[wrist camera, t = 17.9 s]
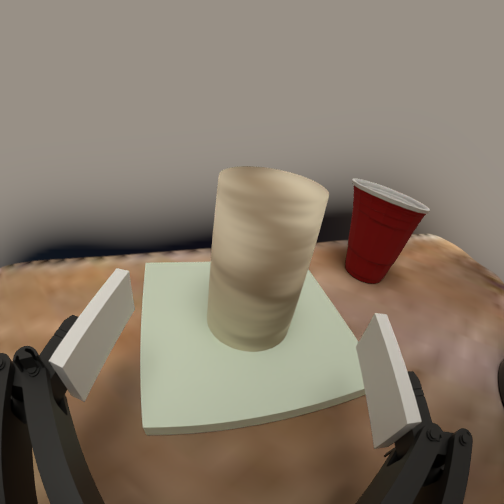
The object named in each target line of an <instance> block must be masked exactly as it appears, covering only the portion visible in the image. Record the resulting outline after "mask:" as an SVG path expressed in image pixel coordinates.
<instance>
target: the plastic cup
mask: <svg viewBox="0 0 504 504" xmlns="http://www.w3.org/2000/svg"><path fill="white" fill-rule="evenodd" d="M353 185H354V202H353V213H352V221H351V228H350V234H349V240H348V250H347V256H346V262H345V263H346V266H345V268H346V269H347V271H348V273H350V274H351V275H352V276H353V277H355V278H356V279H358V280H360V281H363V282H366V283H373V284H375V283H378V282H380V281H381V280H382V279H383V278H384V276H385V275H386V273H387V272H388V270H389V269H390V267H391V266H392V264H393V263H394V262H395V261H396V259H397V258H398V256H399V254H400V253H401V251H402V250H403V248H404V246H405V245H406V243H407V241H408V240H409V238H410V236H411V235H412V233H413V231H414V230H415V229H416V227H417V226H418V224H419V223H420V221H421V220H422V218H423V217H424V216H425V215H426V214H427V213H428V212H429V211H430V209H429V208H428V207H427V206H425V205H424V204H422V203H420V202H419V201H417V200H415V199H413V198H411V197H409V196H407V195H405V194H402V193H400V192H397V191H395V190H393V189H390V188H387V187H385V186H382V185H379V184H376V183H373V182H369V181H365V180H361V179H353Z"/></svg>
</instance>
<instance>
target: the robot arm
mask: <svg viewBox="0 0 504 504" xmlns="http://www.w3.org/2000/svg"><path fill="white" fill-rule="evenodd" d="M134 310H135V307H134V301H133V295H132V288H131V282H130V274H129V271H127V270H122V269H118V268H117V269H116V270H115V271H114V273H113V274H112V275H111V276H110V277H109V279H108V280H107V281H106V282H105V284H104V285H103V286H102V287H101V289H100V290H99V291H98V292H97V294H96V295H95V296H94V298H93V299H92V300H91V301H90V303H89V304H88V305H87V307H86V308H85V309H84V311H83V312H82V313H81V315H80V316H79V317H77V316H74V315H71V316H70V317H69V318H67V319H66V320H64V321H63V323H62V324H61V326H60V327H59V329H58V330H57V331H56V332H55V334H54V336H53V337H52V338H51V339H50V341H49V342H48V344H47V345H46V346H45V348H44V349H43V351H42V352H41V354H40V355H38V353H37V351H36V350H35V349H34V348H33V347H30V346H24V347H21V348H20V349H18V350H17V351H16V353H15V355H14V358H13V361H11V359H10V358H9V356H8V355H6V354H4V353H0V504H38V502H37V496H36V489H35V481H34V471H33V456H32V448H33V452H34V455H35V459H36V463H37V466H38V470H39V473H40V476H41V479H42V482H43V485H44V488H45V491H46V493H47V496H48V499H49V501H50V504H105V503H104V501H103V499H102V497H101V495H100V493H99V491H98V489H97V487H96V485H95V482H94V480H93V478H92V476H91V473H90V471H89V468H88V466H87V463H86V461H85V458H84V455H83V453H82V450H81V447H80V444H79V441H78V438H77V435H76V432H75V428H74V425H73V422H72V418H71V414H70V411H69V407H68V403H67V399H66V396H65V393H66V391H67V390H68V391H69V393H70V394H71V395H72V396H73V397H76V398H78V399H80V400H82V401H84V402H85V400H86V398H87V396H88V394H89V392H90V390H91V388H92V386H93V384H94V382H95V380H96V378H97V376H98V374H99V372H100V370H101V368H102V367H103V365H104V363H105V361H106V359H107V357H108V355H109V354H110V352H111V350H112V348H113V346H114V345H115V343H116V341H117V339H118V337H119V336H120V334H121V332H122V330H123V329H124V327H125V325H126V324H127V322H128V320H129V318H130V317H131V315H132V313H133V312H134ZM356 350H357V354H358V359H359V364H360V368H361V373H362V378H363V383H364V388H365V394H366V399H367V405H368V411H369V417H370V423H371V430H372V436H373V444H374V449H376V448H384V447H389V446H390V445H391V444H393V443H394V442H395V448H393V449H392V450H390V451H389V452H387V453H386V454H385V455H384V457H386V456H388V455H389V454H390V455H389V456H388V458H387V460H386V461H385V463H384V464H383V466H382V467H381V469H380V471H379V472H378V474H377V475H376V476H375V478H374V479H373V481H372V482H371V484H370V485H369V486H368V488H367V489H366V490H365V492H364V493H363V494H362V496H361V497H360V498H359V500H358V501H357V502H356V503H355V504H463V500H464V496H465V491H466V486H467V481H468V475H469V468H470V461H471V453H472V443H473V440H472V435H471V433H470V432H469V431H468V430H467V429H464V428H461V429H459V430H458V431H456V432H455V433H449V432H443V431H442V430H441V428H440V427H439V426H438V425H437V424H434V423H432V420H431V417H430V413H429V410H428V406H427V403H426V400H425V397H424V393H423V390H422V387H421V384H420V381H419V379H418V377H417V376H416V374H415V373H414V372H413V371H411V372H407V369H406V366H405V363H404V360H403V357H402V354H401V351H400V349H399V346H398V343H397V340H396V337H395V335H394V332H393V329H392V327H391V324H390V322H389V319H388V317H387V314H378V313H375V314H374V316H373V318H372V319H371V321H370V323H369V325H368V327H367V328H366V330H365V332H364V334H363V335H362V337H361V339H360V341H359V342H358V344H357V346H356ZM499 388H500V393H501V397H502V400H503V403H504V360H503V361H502V363H501V365H500V368H499Z"/></svg>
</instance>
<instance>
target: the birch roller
mask: <svg viewBox="0 0 504 504" xmlns="http://www.w3.org/2000/svg"><path fill="white" fill-rule="evenodd" d="M328 197H329V192H328V191H327V190H326V188H324V187H323V186H322V185H320V184H318V183H317V182H315V181H313V180H310V179H308V178H306V177H303V176H300V175H297V174H294V173H290V172H286V171H281V170H277V169H271V168H264V167H250V166H249V167H248V166H243V167H232V168H228V169H225V170H222V171H221V172H220V173H219V179H218V188H217V198H216V208H215V218H214V229H213V240H212V252H211V264H210V278H209V293H208V309H207V323H208V327H209V329H210V331H211V332H212V334H213V335H214V336H215V337H216V338H217V339H218V340H219V341H220V342H222V343H224V344H225V345H227V346H229V347H231V348H234V349H237V350H241V351H247V352H258V351H265V350H268V349H271V348H273V347H275V346H277V345H278V344H280V343H281V342H282V341H283V340H284V338H285V337H286V335H287V332H288V329H289V327H290V324H291V321H292V318H293V315H294V312H295V309H296V306H297V303H298V300H299V297H300V294H301V290H302V287H303V284H304V281H305V278H306V275H307V271H308V268H309V265H310V261H311V258H312V255H313V251H314V248H315V244H316V241H317V237H318V234H319V230H320V227H321V223H322V220H323V216H324V212H325V208H326V205H327V200H328Z"/></svg>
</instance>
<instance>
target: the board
mask: <svg viewBox="0 0 504 504" xmlns="http://www.w3.org/2000/svg"><path fill="white" fill-rule="evenodd" d="M210 264H211V262H168V263H146V266H145V277H144V288H143V302H142V319H141V350H140V377H141V407H142V423H143V429H144V431H145V433H146V434H147V435H175V434H191V433H203V432H213V431H221V430H229V429H236V428H242V427H248V426H254V425H259V424H265V423H269V422H274V421H279V420H283V419H288V418H292V417H296V416H300V415H304V414H307V413H311V412H315V411H318V410H321V409H325V408H328V407H331V406H334V405H338V404H341V403H344V402H347V401H349V400H352V399H355V398H358V397H361V396H363V395H366V394H365V388H364V383H363V378H362V373H361V368H360V364H359V359H358V354H357V350H356V346H357V344H358V341H357V339H356V338H355V336H354V335H353V333H352V332H351V330H350V329H349V327H348V326H347V324H346V323H345V321H344V320H343V318H342V317H341V315H340V314H339V312H338V311H337V310H336V308H335V307H334V305H333V304H332V302H331V301H330V299H329V298H328V297H327V295H326V294H325V292H324V291H323V289H322V288H321V287H320V285H319V284H318V282H317V281H316V279H315V278H314V277H313V275H312V274H311V272H310V271H309V270H308V271H307V275H306V278H305V281H304V284H303V287H302V290H301V294H300V297H299V300H298V303H297V306H296V309H295V312H294V315H293V318H292V321H291V324H290V327H289V329H288V332H287V335H286V337H285V338H284V340H283V341H282V342H281V343H280V344H278V345H277V346H275V347H273V348H271V349H268V350H265V351H258V352H247V351H241V350H237V349H234V348H231V347H229V346H227V345H225V344H224V343H222V342H220V341H219V340H218V339H217V338H216V337H215V336H214V335H213V334H212V332H211V331H210V329H209V327H208V323H207V309H208V293H209V278H210Z"/></svg>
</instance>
